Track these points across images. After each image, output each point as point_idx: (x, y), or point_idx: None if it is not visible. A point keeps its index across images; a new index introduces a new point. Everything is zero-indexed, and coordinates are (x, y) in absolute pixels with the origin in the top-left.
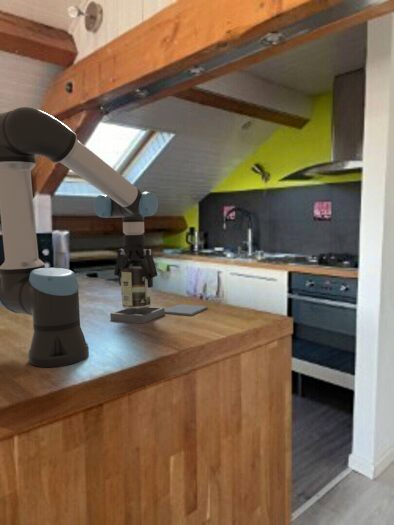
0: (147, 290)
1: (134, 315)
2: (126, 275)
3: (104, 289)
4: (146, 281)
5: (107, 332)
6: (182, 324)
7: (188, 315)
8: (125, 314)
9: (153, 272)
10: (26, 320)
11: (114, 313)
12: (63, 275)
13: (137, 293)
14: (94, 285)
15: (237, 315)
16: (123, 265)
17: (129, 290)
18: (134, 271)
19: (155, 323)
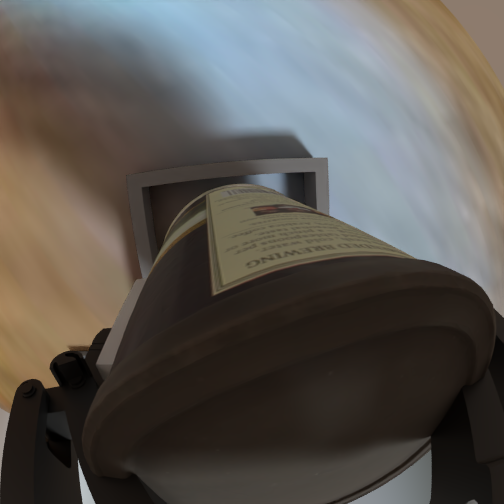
0: (126, 307)
1: (175, 169)
2: (315, 234)
3: None
4: (105, 347)
5: (183, 17)
6: (17, 245)
7: (83, 351)
8: (236, 165)
9: (15, 417)
10: (489, 97)
11: (304, 159)
12: None
13: (170, 234)
14: None
15: (12, 383)
16: (488, 401)
17: (232, 203)
18: (147, 340)
19: (91, 204)
